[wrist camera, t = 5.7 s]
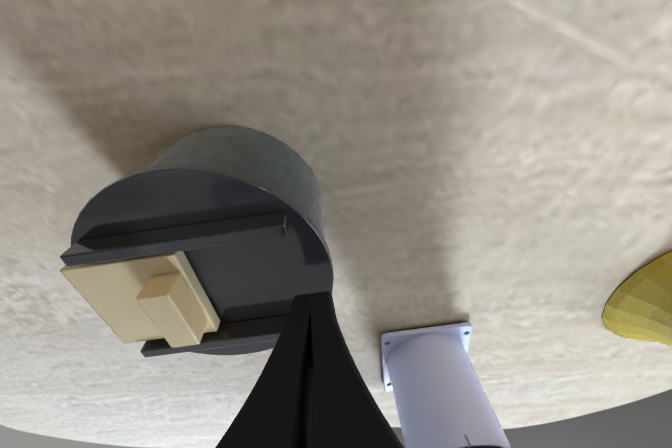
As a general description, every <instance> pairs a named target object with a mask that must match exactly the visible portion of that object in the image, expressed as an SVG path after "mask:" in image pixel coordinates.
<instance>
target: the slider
mask: <svg viewBox="0 0 672 448" xmlns="http://www.w3.org/2000/svg"><path fill="white" fill-rule="evenodd" d="M60 272H61V273H62V274H63V275H64V276H65V277H66V278H67V280H68V281H69V282H70V283H71V284H72V285H73V286H74V287H75V289H76V290H77V291H78V292H79V293H80V294H81V295H82V297H83V298H84V299H85V300H86V301H87V302H88V303H89V304H90V306H91V307H92V308H93V309H94V310H95V311H96V312H97V313H98V315H99V316H100V317H101V318H102V319H103V320H104V321H105V323H106V324H107V325H108V326H109V327H110V328H111V329H112V330H113V332H114V333H115V334H116V335H117V336H118V337H119V338H120V339H121V341H122V342H123V343H131V342H138V341H146V340H154V339H161V338H165V339H166V341H167V342H168V343H169V345H170V346H171V347H173V348H175V347H182V346H190V345H197V344H199V343H200V341H201V339H202V336H203V333H206V332H214V331H217V330H218V327H219V324H220V319H219V317H218V315H217V314H216V312H215V310H214V308H213V306H212V304H211V302H210V301H209V299H208V297H207V295H206V293H205V291H204V289H203V288H202V286H201V284H200V282H199V280H198V278H197V276H196V275H195V273H194V271H193V269H192V267H191V265H190V263H189V262H188V260H187V258H186V256H185V254H184V252H183V251H177V252H170V253H163V254H156V255H148V256H141V257H134V258H127V259H119V260H112V261H105V262H98V263H90V264H83V265H76V266H67V265H65V266H64V267H63V268H62V269H61V270H60Z"/></svg>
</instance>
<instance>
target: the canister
mask: <svg viewBox="0 0 672 448" xmlns="http://www.w3.org/2000/svg"><path fill="white" fill-rule="evenodd" d="M177 251H183V252H184V254H185V256H186V258H187V260H188V262H189V263H190V265H191V267H192V269H193V271H194V273H195V275H196V276H197V278H198V280H199V282H200V284H201V286H202V288H203V289H204V291H205V293H206V295H207V297H208V299H209V301H210V302H211V304H212V306H213V308H214V310H215V312H216V314H217V315H218V317H219V319H220V324H219V327H218V330H217V331H214V332H206V333H203V336H202V339H201V341H200V343H199V344H197V345H190V346H182V347H175V348H173V347H171V346H170V345H169V343H168V342H167V341H166V339H165V338H161V339H154V340H146V342H145V344H144V346H143V348H142V349H141V353H142V354H143V355H144V356H145V357H152V356H159V355H167V354H174V353H182V352H194V353H201V354H211V355H239V354H249V353H255V352H260V351H264V350H268V349H272V348H274V347H275V345H276V342H277V340H278V338H279V335H280V333H281V331H282V329H283V326H284V324H285V321H286V319H287V316H288V313H289V310H290V307H291V305H292V301H293V298H294V297H295V296H296V295H302V294H310V293H317V292H324V291H329V292H331V293H332V290H333V279H334V277H333V265H332V258H331V255H330V251H329V248H328V246H327V243H326V241H325V230H324V210H323V198H322V194H321V189H320V186H319V184H318V182H317V179H316V177H315V175H314V174H313V172H312V170H311V169H310V167H309V166H308V165H307V163H306V162H305V161H304V160H303V159H302V158H301V157H300V156H299V155H298V154H297V153H296V152H295V151H294V150H293V149H291V148H290V147H289V146H287V145H286V144H284V143H283V142H281V141H279V140H278V139H276V138H274V137H272V136H270V135H267V134H265V133H263V132H259V131H256V130H253V129H249V128H243V127H236V126H219V127H211V128H206V129H202V130H199V131H196V132H194V133H191V134H189V135H187V136H185V137H184V138H182V139H180V140H179V141H178V142H177V143H175V144H174V145H173V146H172V147H170V148H169V149H168V150H167V151H165V152H164V153H163V154H162V155H160V156H159V157H158V158H157V159H155V160H154V161H153V162H152V163H150V164H149V165H148V166H147V167H145V168H144V169H142V170H139V171H136V172H133V173H131V174H128V175H125V176H123V177H121V178H119V179H118V180H116V181H114V182H112V183H111V184H109V185H108V186H106V187H105V188H103V189H102V190H101V191H100V192H99V193H97V194H96V195H95V196H94V197H93V198H91V199H90V200H89V202H88V203H87V204H86V205H85V206H84V208H83V209H82V210H81V212H80V214H79V216H78V218H77V220H76V222H75V224H74V228H73V232H72V236H71V247H70V248H69V249H68V250H66V251H65V252H64V253H63V254H62V255H61V256H60V258H61V259H62V261H63V262H64V263H65V264H66V265H67V266H76V265H83V264H90V263H98V262H105V261H112V260H119V259H127V258H134V257H141V256H148V255H156V254H163V253H170V252H177Z"/></svg>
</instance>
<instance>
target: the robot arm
mask: <svg viewBox="0 0 672 448" xmlns="http://www.w3.org/2000/svg"><path fill="white" fill-rule="evenodd" d="M472 330H473V327H472V325H471V323H468V322H465V323H458V324H450V325H442V326H435V327H427V328H419V329H412V330H404V331H396V332H389V333H384V334H382V335H381V349H382V364H383V380H384V390H385V391H387V392H391V391H393V392H394V396H395V401H396V406H397V410H398V415H399V419H400V424H401V429H402V433H403V438H404V442H405V446H406V448H511V446H510V444H509V442H508V440H507V438H506V436H505V434H504V432H503V429H502V427H501V425H500V423H499V421H498V419H497V416H496V414H495V412H494V410H493V408H492V406H491V404H490V402H489V399H488V397H487V395H486V393H485V391H484V389H483V387H482V385H481V383H480V380H479V378H478V376H477V374H476V372H475V370H474V368H473V366H472V363H471V361H470V359H469V357H468V355H467V353H468V348H469V344H470V339H471V334H472ZM216 448H404V447H403V446H402V444H401V443H400V441H399V440H398V438H397V436H396V435H395V433H394V432H393V430H392V428H391V427H390V425H389V424H388V422H387V420H386V419H385V417H384V416H383V414H382V412H381V411H380V409H379V407H378V406H377V404H376V402H375V400H374V399H373V397H372V395H371V393H370V392H369V390H368V388H367V386H366V384H365V382H364V381H363V379H362V377H361V375H360V373H359V371H358V369H357V367H356V365H355V363H354V361H353V358H352V356H351V354H350V352H349V350H348V347H347V345H346V343H345V340H344V338H343V335H342V333H341V330H340V328H339V325H338V322H337V319H336V314H335V309H334V303H333V298H332V293H331V292H329V291H324V292H317V293H310V294H302V295H296V296H295V297H294V298H293V301H292V305H291V307H290V310H289V313H288V316H287V319H286V321H285V324H284V326H283V329H282V331H281V333H280V335H279V338H278V340H277V342H276V345H275V347H274V349H273V351H272V353H271V355H270V357H269V359H268V361H267V363H266V365H265V367H264V369H263V371H262V373H261V375H260V377H259V379H258V381H257V382H256V384H255V386H254V388H253V390H252V391H251V393H250V395H249V396H248V398H247V400H246V402H245V403H244V405H243V407H242V408H241V410H240V411H239V413H238V414H237V416H236V418H235V419H234V421H233V422H232V424H231V425H230V427H229V429H228V430H227V432H226V433H225V435H224V436H223V437H222V439H221V440H220V442H219V443H218V445H217V446H216Z"/></svg>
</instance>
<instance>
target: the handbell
mask: <svg viewBox="0 0 672 448" xmlns="http://www.w3.org/2000/svg"><path fill="white" fill-rule="evenodd" d="M602 318H603V321H604V324H605V327H606V328H607V329H609V330H610V331H612V332H613V333H615V334H616V335H619V336H621V337H624V338H629V339H634V340H642V341H653V342H659V343H662V344H665V345H668V346H672V251H671V252H669V253H667V254H664V255H662V256H660V257H659V258H657V259H656V260H654V261H652V262H651V263H649V264H648V265H646V266H644V267H643V268H641V269H640V270H638V271H636V272H635V273H634V274H633V275H632V276H631V277H630V278H628V279H627V280H626V281H625V282H624V283H623V284H622V285H620V286H619V287H618V288H617V289H616V291H615V292H614V294H613V295H612V296H611V298H610V299H609V300H608V302H607V303H606V306H605V309H604V313H603V316H602Z"/></svg>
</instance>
